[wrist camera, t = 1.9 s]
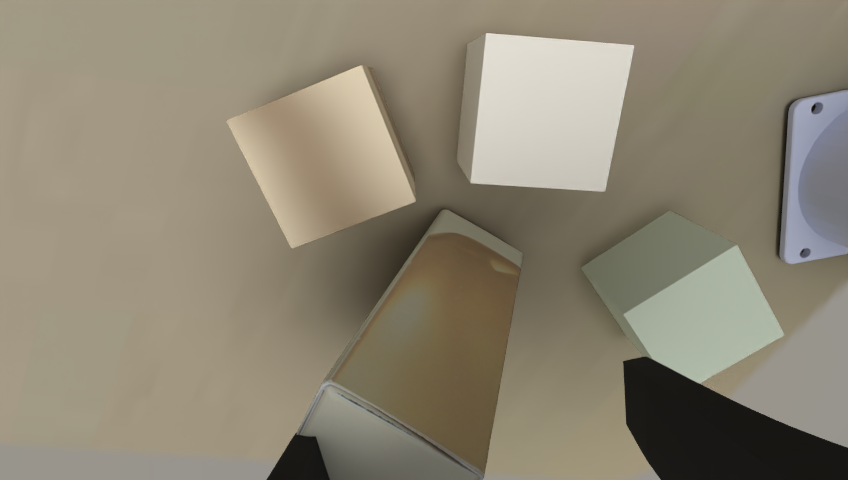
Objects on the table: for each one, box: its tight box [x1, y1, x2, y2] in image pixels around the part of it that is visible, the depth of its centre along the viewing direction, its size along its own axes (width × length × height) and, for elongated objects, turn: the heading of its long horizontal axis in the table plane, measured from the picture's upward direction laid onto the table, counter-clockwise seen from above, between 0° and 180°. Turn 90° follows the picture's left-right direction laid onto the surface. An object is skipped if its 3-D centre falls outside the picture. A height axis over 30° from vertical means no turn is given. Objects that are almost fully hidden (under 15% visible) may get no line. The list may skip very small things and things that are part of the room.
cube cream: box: [457, 33, 634, 192], centre depth 19 cm, size 5×5×5 cm
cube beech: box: [227, 65, 416, 248], centre depth 19 cm, size 5×5×5 cm
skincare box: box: [296, 209, 523, 480], centre depth 17 cm, size 6×4×12 cm
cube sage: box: [581, 210, 784, 383], centre depth 22 cm, size 5×5×5 cm
